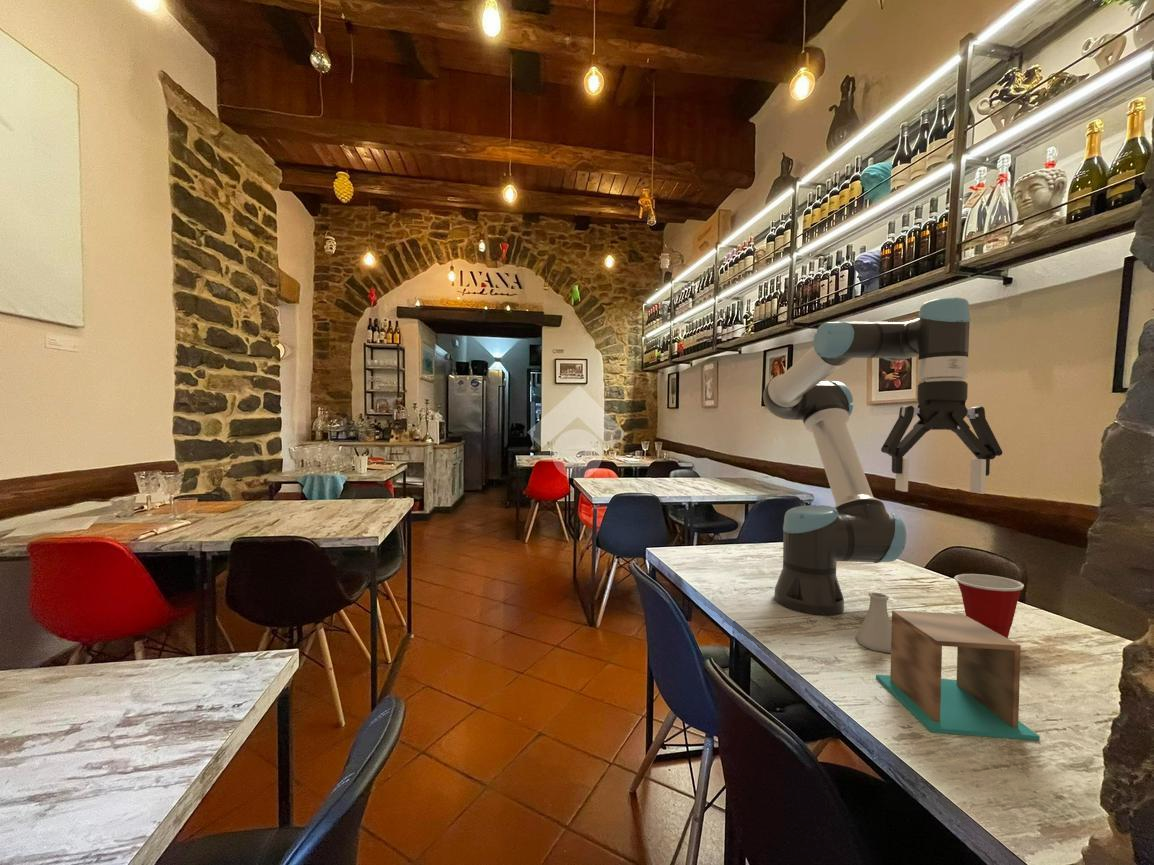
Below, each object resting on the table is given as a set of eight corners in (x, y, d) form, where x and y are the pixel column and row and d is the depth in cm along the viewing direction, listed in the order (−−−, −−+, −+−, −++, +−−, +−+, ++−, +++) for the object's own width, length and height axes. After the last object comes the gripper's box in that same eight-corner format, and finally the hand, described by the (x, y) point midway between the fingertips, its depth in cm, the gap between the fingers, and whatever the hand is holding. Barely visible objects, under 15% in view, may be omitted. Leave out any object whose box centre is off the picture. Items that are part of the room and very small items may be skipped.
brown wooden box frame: (890, 679, 77) (892, 610, 77) (961, 684, 76) (963, 614, 76) (934, 721, 66) (936, 640, 66) (1018, 728, 65) (1020, 645, 65)
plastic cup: (952, 620, 103) (954, 567, 103) (1019, 635, 96) (1021, 578, 96) (952, 637, 94) (954, 579, 94) (1025, 654, 88) (1027, 592, 87)
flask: (908, 654, 87) (909, 602, 87) (869, 653, 87) (870, 601, 87) (884, 637, 94) (885, 588, 94) (848, 636, 94) (849, 587, 94)
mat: (875, 678, 78) (875, 674, 78) (964, 683, 77) (964, 680, 77) (930, 732, 65) (930, 727, 65) (1039, 740, 63) (1039, 736, 63)
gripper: (884, 378, 86) (881, 492, 86) (1030, 379, 83) (1027, 496, 83) (863, 382, 93) (860, 487, 93) (996, 383, 91) (993, 491, 91)
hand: (939, 492), depth 88 cm, fingers open, 13 cm apart
